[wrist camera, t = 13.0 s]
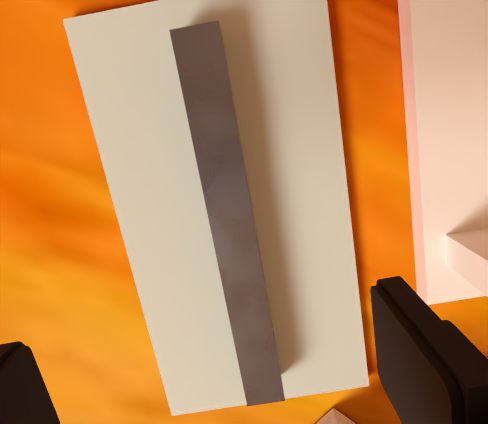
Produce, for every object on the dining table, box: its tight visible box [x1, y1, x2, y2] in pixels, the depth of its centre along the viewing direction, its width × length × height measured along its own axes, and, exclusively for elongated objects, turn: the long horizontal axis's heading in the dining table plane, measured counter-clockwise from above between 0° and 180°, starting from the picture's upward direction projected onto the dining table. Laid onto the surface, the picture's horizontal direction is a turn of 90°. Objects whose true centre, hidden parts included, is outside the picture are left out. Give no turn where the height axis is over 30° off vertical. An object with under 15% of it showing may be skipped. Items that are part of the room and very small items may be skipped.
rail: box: [169, 21, 285, 406], centre depth 22 cm, size 22×2×2 cm, turn 10°
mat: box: [63, 0, 369, 416], centre depth 24 cm, size 26×14×1 cm, turn 10°
